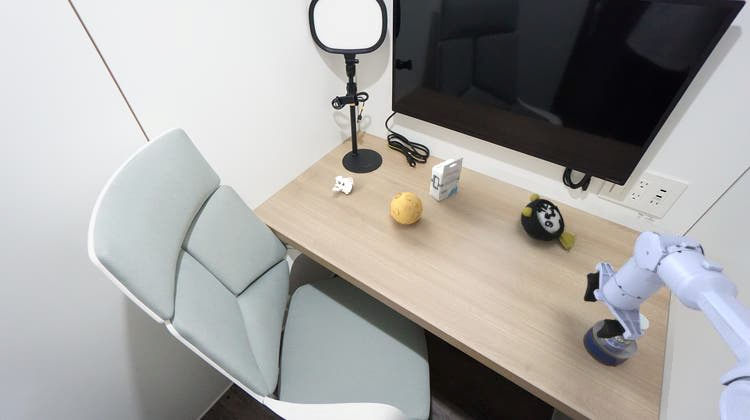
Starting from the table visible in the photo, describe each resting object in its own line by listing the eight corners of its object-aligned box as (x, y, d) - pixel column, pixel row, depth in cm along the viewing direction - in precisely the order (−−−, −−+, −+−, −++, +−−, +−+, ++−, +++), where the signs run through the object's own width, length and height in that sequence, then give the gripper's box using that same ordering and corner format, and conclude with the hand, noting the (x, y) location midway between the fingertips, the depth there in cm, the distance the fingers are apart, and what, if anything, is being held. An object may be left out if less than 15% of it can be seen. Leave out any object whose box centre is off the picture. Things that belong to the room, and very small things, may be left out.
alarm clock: (541, 263, 91) (535, 234, 81) (516, 228, 101) (509, 198, 92) (582, 247, 88) (581, 215, 79) (553, 212, 99) (549, 180, 89)
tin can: (633, 359, 68) (647, 349, 64) (604, 372, 66) (616, 364, 63) (602, 324, 74) (613, 314, 70) (574, 336, 72) (584, 326, 68)
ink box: (446, 185, 111) (453, 149, 101) (456, 192, 108) (464, 157, 98) (428, 194, 108) (433, 158, 98) (438, 202, 105) (444, 166, 95)
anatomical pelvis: (335, 172, 112) (353, 171, 111) (337, 181, 114) (355, 180, 114) (331, 186, 106) (350, 185, 105) (333, 196, 109) (352, 195, 108)
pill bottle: (606, 347, 65) (628, 329, 59) (599, 325, 68) (619, 306, 62) (631, 351, 64) (656, 333, 58) (622, 329, 68) (645, 309, 62)
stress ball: (394, 206, 104) (394, 183, 97) (423, 211, 102) (426, 188, 95) (386, 227, 97) (387, 204, 90) (418, 233, 95) (421, 210, 88)
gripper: (593, 247, 59) (564, 284, 69) (626, 322, 49) (586, 352, 59) (634, 250, 59) (598, 287, 68) (675, 326, 49) (626, 356, 59)
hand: (595, 317), depth 64 cm, fingers open, 7 cm apart
